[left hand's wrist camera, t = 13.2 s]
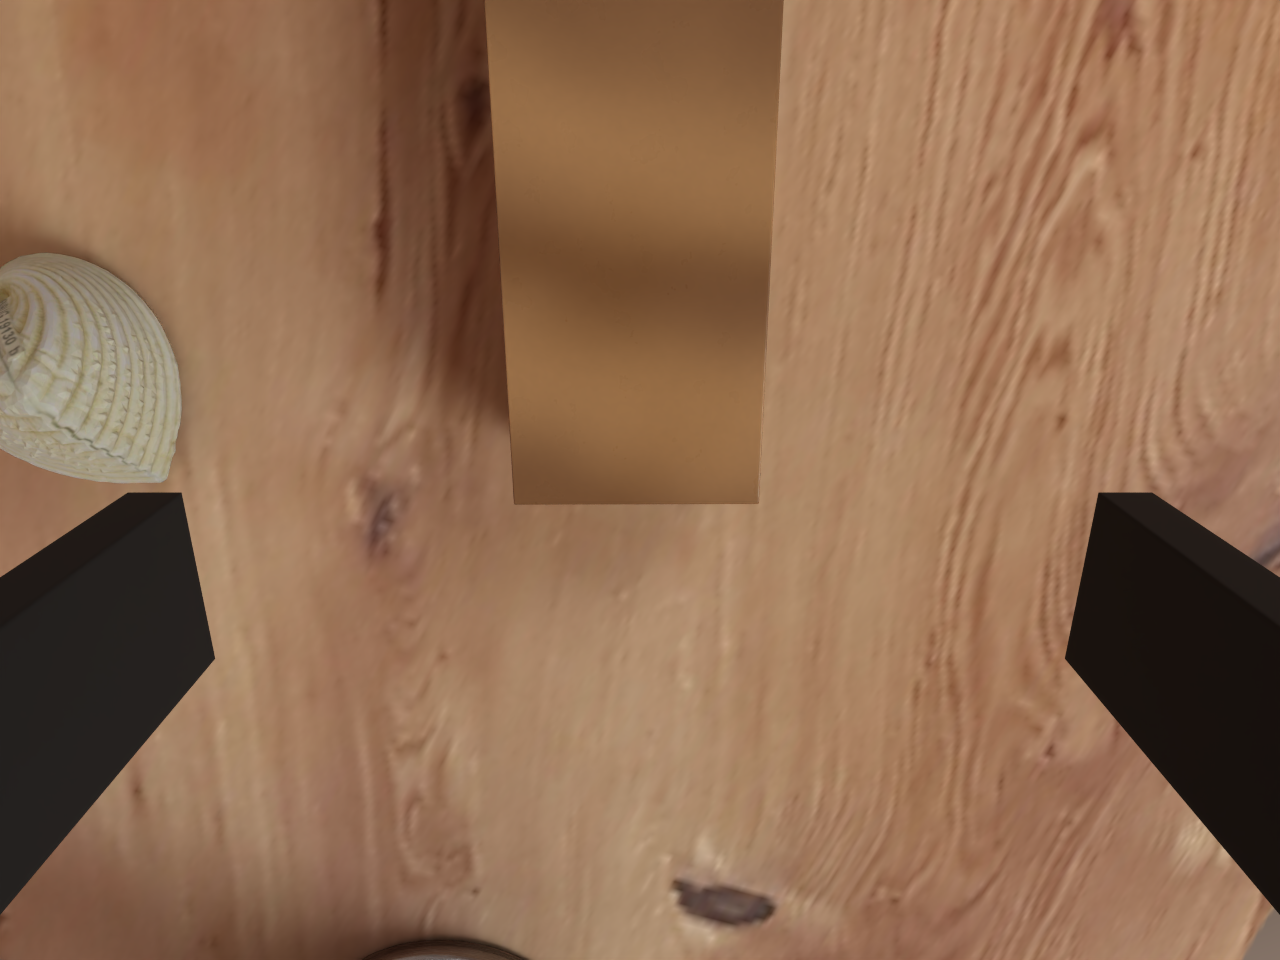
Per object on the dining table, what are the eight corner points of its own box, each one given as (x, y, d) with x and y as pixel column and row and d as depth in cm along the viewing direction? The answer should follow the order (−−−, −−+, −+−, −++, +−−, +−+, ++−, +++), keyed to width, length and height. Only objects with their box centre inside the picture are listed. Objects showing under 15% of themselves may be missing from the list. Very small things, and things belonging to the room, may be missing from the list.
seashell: (48, 186, 32) (146, 350, 30) (164, 302, 40) (246, 436, 38) (-174, 299, 30) (-85, 479, 28) (-6, 395, 38) (71, 540, 36)
